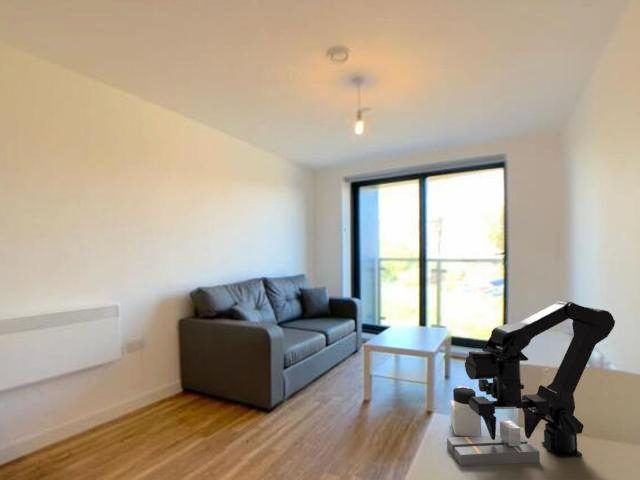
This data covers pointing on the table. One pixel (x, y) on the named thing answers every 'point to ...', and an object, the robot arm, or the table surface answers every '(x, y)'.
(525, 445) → the slider console
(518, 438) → the fader tab
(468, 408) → the medicine bottle
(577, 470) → the table surface
